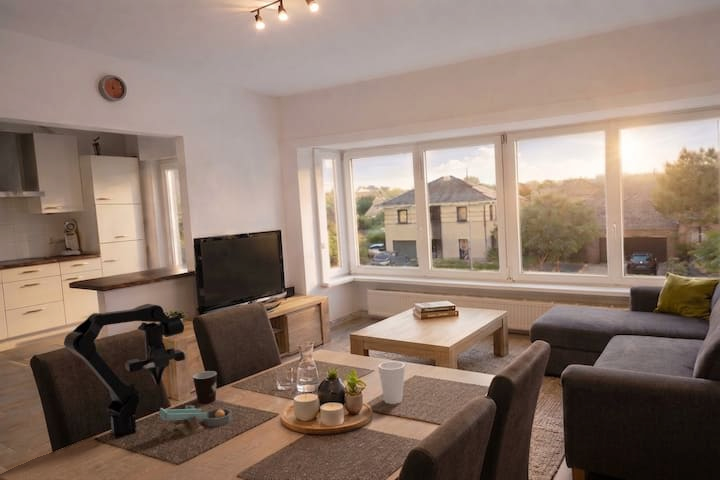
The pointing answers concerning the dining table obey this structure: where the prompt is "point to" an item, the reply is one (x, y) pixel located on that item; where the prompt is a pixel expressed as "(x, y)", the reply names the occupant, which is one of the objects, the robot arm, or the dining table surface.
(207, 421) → the bowl
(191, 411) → the lever
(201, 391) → the coffee mug
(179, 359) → the robot arm
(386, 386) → the foam cup
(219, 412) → the ball
